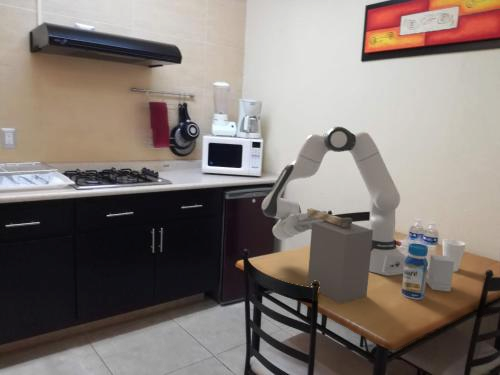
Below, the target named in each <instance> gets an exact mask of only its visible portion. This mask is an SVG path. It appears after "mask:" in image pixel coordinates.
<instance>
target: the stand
mask: <svg viewBox="0 0 500 375" xmlns="http://www.w3.org/2000/svg"><path fill="white" fill-rule="evenodd" d="M372 237H373V230H371V229H369V227H368V228H367V227H364V226H361V225H358V224H355V223H352V227H347V228H342V227H340V226H339V225H336V224H333V223H330V222H327V221H318V222H312V229H311V233H310V246H309V247H310V248H309V257H308V258H309V259H308V275H307V286H308V287H310V286H312V285H311V283H312V282H313V281H314V280H318V281H319V282H320V288H319V292H318V293H320V294H322V293H323V294H324V296H325V295H326V296H325V297H327V296H328V297H327V298H329V299H330V298H331V299H330V300H332V301H334V302H336V303H337V304H339V305H341V304H345V303H348V302H351V301H355V300H358V299H362V298H365V297H367V294H368V286H369V285H368V284H369V275H370V274H369V273H370V271H369V267H370V257H371V247H372ZM323 294H322V295H323ZM344 302H345V303H344Z"/></svg>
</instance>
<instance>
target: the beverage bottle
mask: <svg viewBox="0 0 500 375" xmlns="http://www.w3.org/2000/svg"><path fill="white" fill-rule="evenodd" d="M428 250H429V247H428V246H427V245H424V244H421V243H409V245H408V248H407V253H408V255H407V256H406V257H407V258H406V259H405V265H404V274H402V284H401V285H402V286H401V290H400V291H401V292H400V293H401V294H402V296H403V297H405V298H408V299H411V300H422V299H423V298H424V297H425V289H426V284H427V281H426V280H427V277H428V272H429V269H428V267H429V263H428V259H427V258H426V257H427V255H428V252H429V251H428Z"/></svg>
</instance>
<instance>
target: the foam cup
mask: <svg viewBox="0 0 500 375" xmlns="http://www.w3.org/2000/svg"><path fill="white" fill-rule="evenodd" d="M466 245H467V244H466V242H465V241H462V240H459V239H458V240H457V239H451V238H443V239H442V245H441V246H442V256H449V257H450V258H451V259H452V260H453V261H454V267H453V273H455V272H458V271H459V268H460V266H461V261H462V258H463V255H464V251H465V250H466Z"/></svg>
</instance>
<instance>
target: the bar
mask: <svg viewBox="0 0 500 375" xmlns="http://www.w3.org/2000/svg"><path fill="white" fill-rule="evenodd" d="M306 213H309V215H310V216H313V217H316V218H319V219H322V220H324V221H327V222H330V223H333V224H336V225H339V226H340V227H342V228H347V227H352V224H353V218H351V217H339V216H336V215H334V214H330V213H328V212H327V213H325V212H323V211H322V210H321V211H320V210H318V209H316V208H315V209H314V208H307V211H306Z"/></svg>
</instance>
